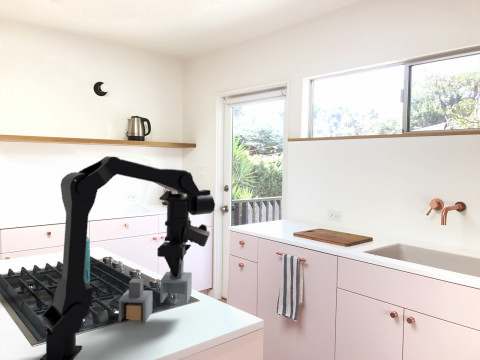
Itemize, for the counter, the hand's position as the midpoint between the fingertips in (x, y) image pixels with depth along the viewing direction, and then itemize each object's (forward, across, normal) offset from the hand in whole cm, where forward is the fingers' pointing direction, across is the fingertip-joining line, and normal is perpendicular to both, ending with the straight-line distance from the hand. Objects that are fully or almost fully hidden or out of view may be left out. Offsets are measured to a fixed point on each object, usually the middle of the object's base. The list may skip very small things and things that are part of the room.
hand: (176, 274), depth 98 cm
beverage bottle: (+12, +20, +36) cm, 43 cm away
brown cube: (+12, 0, +11) cm, 16 cm away
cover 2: (+6, 0, 0) cm, 6 cm away
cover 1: (+12, 0, +11) cm, 16 cm away
